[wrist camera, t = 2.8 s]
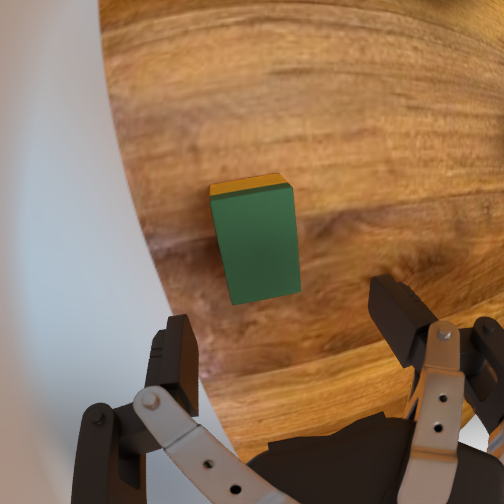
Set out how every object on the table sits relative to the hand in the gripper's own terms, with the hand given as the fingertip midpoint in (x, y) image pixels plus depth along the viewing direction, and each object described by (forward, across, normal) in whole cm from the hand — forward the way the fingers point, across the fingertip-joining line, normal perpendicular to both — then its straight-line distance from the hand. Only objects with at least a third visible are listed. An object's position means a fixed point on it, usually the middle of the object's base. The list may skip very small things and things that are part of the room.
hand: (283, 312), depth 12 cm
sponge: (+9, 0, 0) cm, 9 cm away
